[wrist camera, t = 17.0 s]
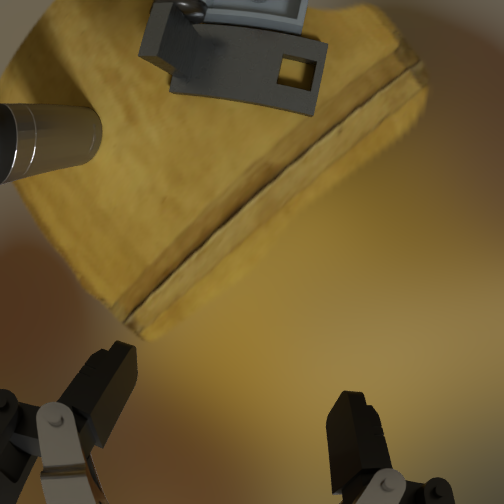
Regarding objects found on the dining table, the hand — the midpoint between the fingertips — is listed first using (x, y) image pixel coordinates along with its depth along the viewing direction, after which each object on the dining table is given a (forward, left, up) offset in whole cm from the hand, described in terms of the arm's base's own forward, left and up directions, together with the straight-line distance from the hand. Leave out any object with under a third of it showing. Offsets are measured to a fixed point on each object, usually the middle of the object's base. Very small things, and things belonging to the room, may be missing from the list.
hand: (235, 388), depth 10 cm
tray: (-7, +30, -30) cm, 43 cm away
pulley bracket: (-6, +18, -30) cm, 36 cm away
